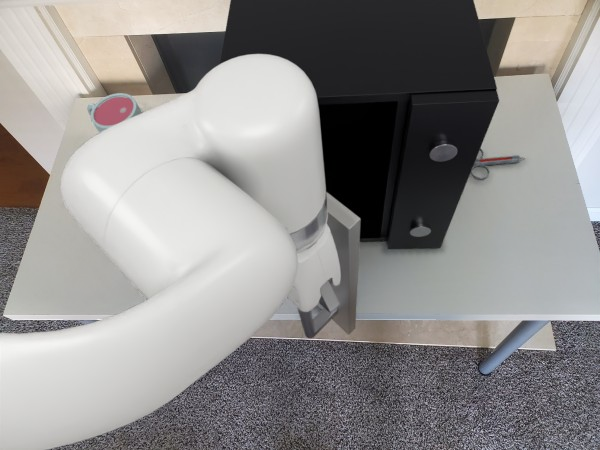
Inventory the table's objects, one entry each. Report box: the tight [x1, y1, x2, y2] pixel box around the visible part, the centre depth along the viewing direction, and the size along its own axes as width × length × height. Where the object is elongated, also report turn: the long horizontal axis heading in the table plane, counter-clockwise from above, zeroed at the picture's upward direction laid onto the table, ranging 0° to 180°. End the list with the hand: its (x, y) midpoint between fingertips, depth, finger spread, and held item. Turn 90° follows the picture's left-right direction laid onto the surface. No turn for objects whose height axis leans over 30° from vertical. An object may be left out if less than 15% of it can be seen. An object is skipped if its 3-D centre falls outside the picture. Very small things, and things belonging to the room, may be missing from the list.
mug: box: [86, 92, 143, 133], centre depth 92 cm, size 14×9×10 cm
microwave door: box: [296, 192, 361, 339], centre depth 59 cm, size 7×22×35 cm, turn 44°
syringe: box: [470, 148, 528, 181], centre depth 84 cm, size 8×18×2 cm, turn 92°
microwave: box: [219, 0, 500, 250], centre depth 70 cm, size 30×31×35 cm
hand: (301, 290), depth 51 cm, fingers closed, pressing on microwave door
